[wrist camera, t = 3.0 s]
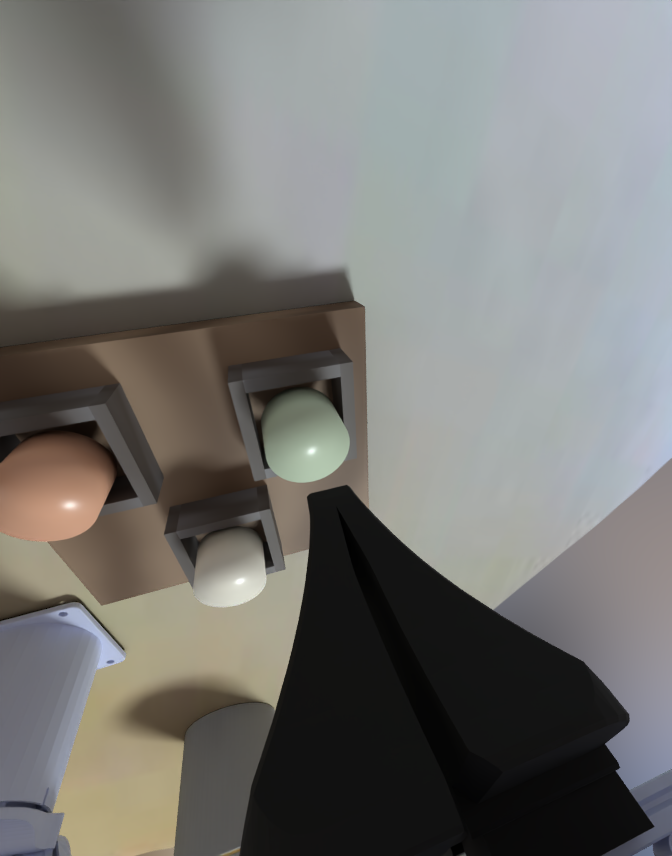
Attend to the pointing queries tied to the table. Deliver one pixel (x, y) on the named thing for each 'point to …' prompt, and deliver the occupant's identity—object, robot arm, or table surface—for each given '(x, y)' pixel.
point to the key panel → (188, 433)
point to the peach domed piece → (54, 486)
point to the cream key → (229, 567)
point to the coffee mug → (219, 778)
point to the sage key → (303, 435)
